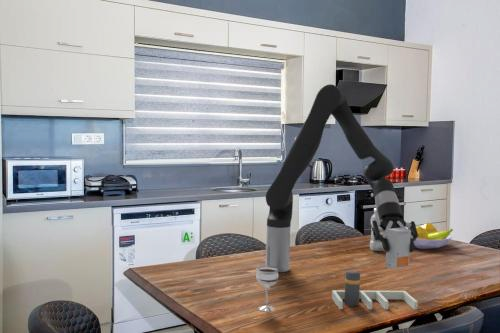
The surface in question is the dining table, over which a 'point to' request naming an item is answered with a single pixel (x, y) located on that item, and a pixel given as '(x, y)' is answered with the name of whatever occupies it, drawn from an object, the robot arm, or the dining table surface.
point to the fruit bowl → (431, 237)
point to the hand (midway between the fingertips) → (400, 250)
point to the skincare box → (398, 248)
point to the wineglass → (267, 282)
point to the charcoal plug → (352, 288)
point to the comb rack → (378, 295)
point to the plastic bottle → (374, 244)
